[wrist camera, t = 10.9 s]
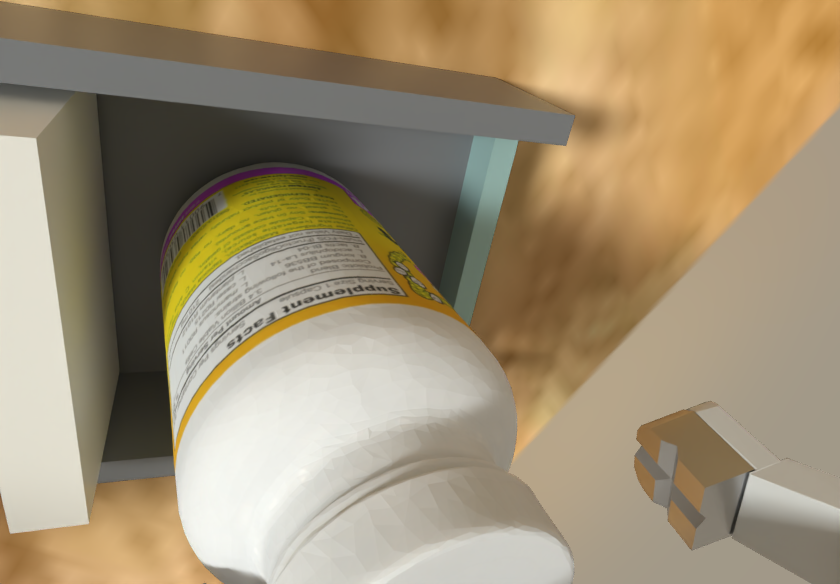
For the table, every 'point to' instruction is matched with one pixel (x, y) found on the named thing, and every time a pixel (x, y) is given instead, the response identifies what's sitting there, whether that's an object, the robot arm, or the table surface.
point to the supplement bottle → (334, 401)
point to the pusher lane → (262, 143)
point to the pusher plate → (53, 307)
